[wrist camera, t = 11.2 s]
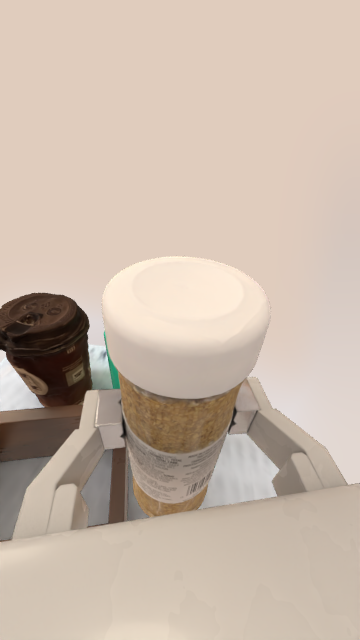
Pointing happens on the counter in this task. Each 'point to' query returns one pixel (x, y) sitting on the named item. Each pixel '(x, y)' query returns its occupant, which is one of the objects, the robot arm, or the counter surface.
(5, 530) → the counter surface
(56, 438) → the spice rack
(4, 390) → the counter surface
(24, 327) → the coffee cup
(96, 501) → the counter surface
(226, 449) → the counter surface
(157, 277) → the sprinkles bottle
